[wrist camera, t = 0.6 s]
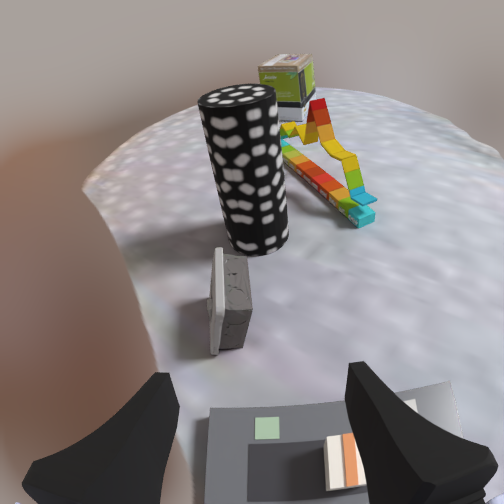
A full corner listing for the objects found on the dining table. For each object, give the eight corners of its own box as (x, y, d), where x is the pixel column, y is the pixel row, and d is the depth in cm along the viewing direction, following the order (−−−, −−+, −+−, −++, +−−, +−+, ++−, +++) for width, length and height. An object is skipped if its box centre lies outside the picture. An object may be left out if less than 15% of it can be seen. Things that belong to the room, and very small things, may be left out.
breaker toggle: (364, 485, 19) (374, 482, 16) (326, 491, 19) (330, 488, 16) (360, 440, 22) (369, 430, 19) (323, 445, 22) (327, 435, 19)
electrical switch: (210, 296, 38) (200, 245, 33) (248, 293, 39) (245, 241, 33) (211, 358, 32) (197, 313, 27) (255, 355, 33) (252, 309, 27)
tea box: (282, 101, 85) (277, 53, 75) (317, 103, 82) (314, 53, 71) (264, 120, 76) (256, 64, 66) (303, 122, 72) (298, 64, 62)
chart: (264, 148, 65) (255, 79, 54) (278, 144, 65) (271, 76, 55) (356, 230, 44) (364, 131, 33) (374, 223, 44) (384, 126, 34)
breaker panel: (460, 501, 17) (472, 498, 15) (210, 533, 19) (202, 535, 17) (440, 390, 26) (450, 380, 24) (216, 415, 28) (209, 407, 26)
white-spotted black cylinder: (243, 264, 41) (211, 113, 28) (220, 229, 47) (189, 97, 33) (300, 240, 43) (290, 93, 29) (271, 209, 49) (255, 80, 35)
